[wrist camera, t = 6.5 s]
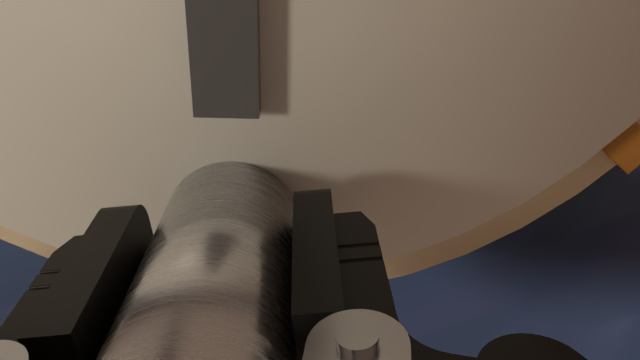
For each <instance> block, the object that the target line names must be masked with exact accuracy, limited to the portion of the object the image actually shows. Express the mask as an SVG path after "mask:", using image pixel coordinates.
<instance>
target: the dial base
mask: <svg viewBox="0 0 640 360" xmlns="http://www.w3.org/2000/svg"><path fill="white" fill-rule="evenodd" d="M615 165H618V166H619V167H620V168H621V169H623V170H624V171H625V172H626V173H627V174H629V173H630V172H631V171H633V170H634V169H635V168H636V167H638V166H639V165H640V118H639V119H638V120H637V121H636V122H635V123H634V124H632V125H631V126H630V127H629V128H627V129H626V130H625V131H624V132H622V133H621V134H620V135H619V136H617V137H616V138H615V139H614V140H612V141H611V142H610V143H609V144H607V145H606V146H605V147H604V148H602V149H601V150H600V151H599V152H597V153H596V154H595V155H594V156H592V157H591V158H590V159H589V160H588V161H586V162H585V163H584V164H583V165H581V166H580V167H579V168H577V169H576V170H574V171H573V172H571V173H569V174H568V175H566V176H565V177H563V178H562V179H560V180H559V181H557V182H555V183H554V184H552V185H551V186H549V187H548V188H546V189H545V190H543V191H542V192H540V193H538V194H537V195H535V196H534V197H532V198H531V199H529V200H528V201H526V202H525V203H523V204H521V205H519V206H517V207H515V208H513V209H511V210H509V211H507V212H505V213H503V214H501V215H499V216H497V217H495V218H493V219H491V220H489V221H487V222H485V223H483V224H481V225H479V226H477V227H476V228H474V229H472V230H470V231H468V232H465V233H463V234H460V235H457V236H455V237H452V238H449V239H447V240H444V241H441V242H439V243H436V244H434V245H431V246H428V247H426V248H423V249H420V250H418V251H415V252H412V253H410V254H406V255H402V256H398V257H394V258H390V259H387V260H384V264H385V268H386V272H387V276H388V279H391V278H396V277H400V276H404V275H408V274H412V273H414V272H417V271H420V270H423V269H426V268H429V267H432V266H434V265H437V264H440V263H443V262H446V261H449V260H451V259H454V258H457V257H460V256H463V255H466V254H468V253H470V252H472V251H474V250H476V249H478V248H481V247H483V246H485V245H487V244H489V243H491V242H493V241H495V240H497V239H499V238H502V237H504V236H506V235H508V234H510V233H512V232H514V231H516V230H518V229H521V228H523V227H524V226H526V225H528V224H529V223H531V222H532V221H534V220H536V219H537V218H539V217H541V216H542V215H544V214H546V213H547V212H549V211H551V210H552V209H554V208H555V207H557V206H559V205H560V204H562V203H564V202H565V201H567V200H569V199H570V198H572V197H574V196H575V195H577V194H578V193H580V192H581V191H582V190H584V189H585V188H586V187H588V186H589V185H590V184H592V183H593V182H594V181H596V180H597V179H598V178H600V177H601V176H602V175H603V174H605V173H606V172H607V171H609V170H610V169H611V168H613V167H614V166H615ZM0 239H2V240H4V241H7V242H9V243H12V244H14V245H17V246H19V247H22V248H24V249H27V250H29V251H32V252H34V253H37V254H39V255H42V256H44V257H47V258H49V257H50V256H51V254H52V253H53V252H54V251H55V250H57V249H58V248H56V247H54V246H51V245H49V244H46V243H43V242H41V241H38V240H36V239H33V238H31V237H28V236H25V235H23V234H20V233H18V232H15V231H13V230H10V229H7V228H5V227H2V226H0Z"/></svg>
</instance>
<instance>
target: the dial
mask: <svg viewBox="0 0 640 360" xmlns="http://www.w3.org/2000/svg"><path fill="white" fill-rule="evenodd" d="M639 118H640V0H0V226H2V227H5V228H7V229H10V230H13V231H15V232H18V233H20V234H23V235H25V236H28V237H31V238H33V239H36V240H38V241H41V242H43V243H46V244H49V245H51V246H54V247H56V248H59V247H61V246H62V245H63V244H65V243H66V242H67V241H69V240H70V239H71V238H72V237H74V236H78V235H84V233H85V231H86V230H87V228H88V227H89V225H90V224H91V222H92V220H93V219H94V217H95V216H96V214H97V213H98V211H99V210H100V209H101V208H107V207H118V206H130V205H143V206H144V207H145V209H146V211H147V213H148V216H149V220H150V224H151V227H152V231H153V237H152V239H151V242H150V244H149V246H148V248H147V250H146V252H145V254H144V257H143V259H142V261H141V263H140V265H139V267H138V269H137V272H136V274H135V276H134V278H133V280H132V282H131V284H130V287H129V289H128V291H127V293H126V295H125V297H124V299H123V302H122V304H121V306H120V308H119V310H118V312H117V315H116V317H115V319H114V321H113V323H112V325H111V327H110V330H109V332H108V334H107V336H106V338H105V340H104V342H103V345H102V347H101V349H100V351H99V353H98V355H97V357H96V360H297V356H296V348H295V341H294V333H293V326H292V318H291V293H292V231H293V191H304V190H316V189H327V188H331V195H332V204H333V213H345V212H357V211H361V212H362V213H363V214H364V215H365V216H366V217H367V218H368V219H369V220H371V221H372V222H373V223H374V224H375V226H376V230H377V235H378V239H379V245H380V247H381V251H382V256H383V260H387V259H390V258H394V257H398V256H402V255H406V254H410V253H412V252H415V251H418V250H420V249H423V248H426V247H428V246H431V245H434V244H436V243H439V242H441V241H444V240H447V239H449V238H452V237H455V236H457V235H460V234H463V233H465V232H468V231H470V230H472V229H474V228H476V227H477V226H479V225H481V224H483V223H485V222H487V221H489V220H491V219H493V218H495V217H497V216H499V215H501V214H503V213H505V212H507V211H509V210H511V209H513V208H515V207H517V206H519V205H521V204H523V203H525V202H526V201H528V200H529V199H531V198H532V197H534V196H535V195H537V194H538V193H540V192H542V191H543V190H545V189H546V188H548V187H549V186H551V185H552V184H554V183H555V182H557V181H559V180H560V179H562V178H563V177H565V176H566V175H568V174H569V173H571V172H573V171H574V170H576V169H577V168H579V167H580V166H581V165H583V164H584V163H585V162H586V161H588V160H589V159H590V158H591V157H592V156H594V155H595V154H596V153H597V152H599V151H600V150H601V149H602V148H604V147H605V146H606V145H607V144H609V143H610V142H611V141H612V140H614V139H615V138H616V137H617V136H619V135H620V134H621V133H622V132H624V131H625V130H626V129H627V128H629V127H630V126H631V125H632V124H634V123H635V122H636V121H637V120H638V119H639Z"/></svg>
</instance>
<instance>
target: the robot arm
mask: <svg viewBox="0 0 640 360" xmlns="http://www.w3.org/2000/svg"><path fill="white" fill-rule="evenodd" d="M152 237H153V231H152V227H151V224H150V220H149V216H148V213H147V211H146V209H145V207H144V206H143V205H130V206H118V207H107V208H101V209H100V210H99V211H98V213H97V214H96V216H95V217H94V219H93V220H92V222H91V224H90V225H89V227H88V228H87V230H86V231H85V233H84V235H78V236H74V237H72V238H71V239H70V240H69V241H67V242H66V243H65V244H63V245H62V246H61V247H59V248H58V249H57V250H55V251H54V252H53V253H52V254H51V256H50V257H49V259H48V260H47V261H46V263H45V264H44V266H43V267H42V269H41V270H40V275H37V276H36V277H35V279H34V280H33V282H32V283H31V284H30V286H29V291H26V292H25V293H24V295H23V296H22V297H21V299H20V300H19V302H18V303H17V305H16V306H15V307H14V309H13V310H12V312H11V313H10V315H9V316H8V318H7V319H6V320H5V322H4V323H3V325H2V326H1V328H0V360H96V357H97V355H98V353H99V351H100V349H101V347H102V345H103V342H104V340H105V338H106V336H107V334H108V332H109V330H110V327H111V325H112V323H113V321H114V319H115V317H116V315H117V312H118V310H119V308H120V306H121V304H122V302H123V299H124V297H125V295H126V293H127V291H128V289H129V287H130V284H131V282H132V280H133V278H134V276H135V274H136V272H137V269H138V267H139V265H140V263H141V261H142V259H143V257H144V254H145V252H146V250H147V248H148V246H149V244H150V242H151V239H152ZM291 318H292V326H293V333H294V341H295V348H296V356H297V360H587V359H586V358H584V357H583V356H582V355H581V354H579V353H578V352H577V351H575V350H574V349H572V348H571V347H569V346H567V345H565V344H563V343H561V342H559V341H557V340H554V339H552V338H548V337H545V336H541V335H535V334H524V333H519V334H509V335H505V336H501V337H499V338H496V339H494V340H492V341H491V342H489V343H488V344H487V345H485V346H484V347H483V348H482V350H481V351H480V353H479V355H478V357H477V358H474V357H468V356H462V355H456V354H450V353H446V352H441V351H438V350H435V349H432V348H429V347H427V346H425V345H423V344H421V343H420V342H418V341H416V340H415V339H413V338H412V337H411V336H410V335H409V334H408V333H407V331H406V330H405V328H404V327H403V326H402V325H401V324H400V323H399V320H398V317H397V314H396V310H395V306H394V302H393V297H392V293H391V289H390V285H389V281H388V276H387V272H386V268H385V264H384V260H383V256H382V251H381V247H380V245H379V239H378V235H377V230H376V226H375V224H374V223H373V222H372V221H371V220H369V219H368V218H367V217H366V216H365V215H364V214H363V213H362V212H361V211H357V212H345V213H333V204H332V195H331V188H327V189H316V190H304V191H293V231H292V293H291Z"/></svg>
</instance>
